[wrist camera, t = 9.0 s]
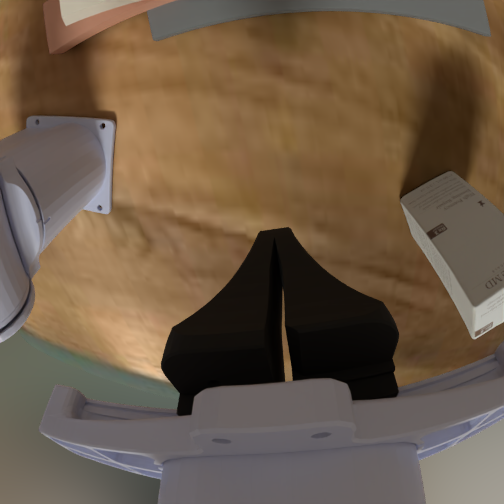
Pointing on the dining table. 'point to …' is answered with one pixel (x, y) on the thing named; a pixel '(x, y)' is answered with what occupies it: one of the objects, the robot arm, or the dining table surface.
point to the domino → (87, 8)
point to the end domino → (87, 23)
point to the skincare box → (461, 246)
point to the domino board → (267, 3)
